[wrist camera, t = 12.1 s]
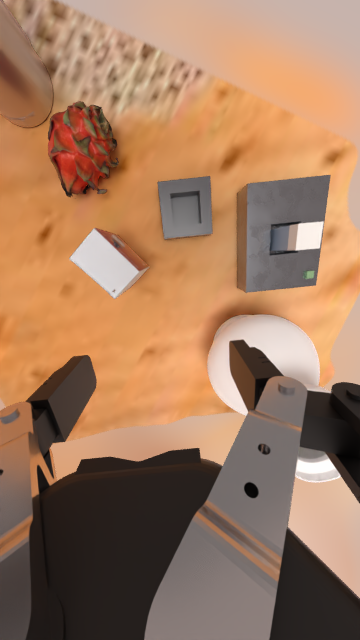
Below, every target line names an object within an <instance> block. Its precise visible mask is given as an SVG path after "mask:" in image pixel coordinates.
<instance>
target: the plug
mask: <svg viewBox="0 0 360 640" xmlns="http://www.w3.org/2000/svg"><path fill="white" fill-rule="evenodd" d="M323 223H324V221H323V222H312V223H300V224H295V225H290V226H286V227H281V228H277V229H272V230H271V233H270V251H285V250H306V249H318V248H320V243H321V237H322V230H323Z"/></svg>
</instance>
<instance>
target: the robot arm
mask: <svg viewBox="0 0 360 640" xmlns="http://www.w3.org/2000/svg"><path fill="white" fill-rule="evenodd" d="M52 102H53V89H52V84H51V80H50V76H49V74H48V72H47V69H46V67H45V66H44V64H43V62H42V61H41V59H40V58H39V56H38V55H37V53H36V52H35V50H34V49H33V48H32V46H31V42H30V39H29V38H28V37H27V35H26V34H25V32H24V31H23V29H22V28H21V26H20V25H19V23H18V22H17V20H16V19H15V17H14V16H13V15H12V13H11V12H10V10H9V9H8V7H7V6H6V4H5V3H4V1H3V0H0V114H1V115H2V116H4V117H5V118H6V119H8V120H9V121H10V122H12V123H14V124H16V125H18V126H21V127H34V126H38V125H39V124H41V123H42V122H43V121H44V120H45V119H46V118H47V117H48V115H49V113H50V111H51V107H52ZM229 366H230V372H231V376H232V378H233V380H234V382H235V384H236V387H237V389H238V391H239V393H240V395H241V397H242V400H243V402H244V404H245V406H246V408H247V410H248V413H247V416H246V418H245V420H244V422H243V424H242V426H241V429H240V431H239V433H238V435H237V437H236V439H235V441H234V443H233V446H232V447H231V450H230V452H229V454H228V456H227V458H226V460H225V462H224V465H223V466H221V465H219V464H217V463H215V462H213V461H210V460H206V459H201V458H200V450H199V448H193V449H183V450H173V451H168V452H166V453H163V454H160V455H157V456H154V457H152V458H149V459H146V460H143V461H139V462H136V461H131V460H125V459H120V458H114V457H103V458H92V459H83V460H81V462H80V464H79V466H78V468H77V471H76V472H74V473H72V474H69V475H67V476H65V477H63V478H62V479H60V480H58V481H57V477H56V472H55V466H54V461H53V455H52V451H51V449H50V447H51V445H52V443H57V442H65V441H66V439H67V437H68V436H69V434H70V432H71V431H72V429H73V427H74V425H75V424H76V422H77V420H78V418H79V417H80V415H81V413H82V411H83V410H84V408H85V406H86V404H87V403H88V401H89V399H90V397H91V396H92V394H93V392H94V390H95V388H96V376H95V373H94V369H93V366H92V362H91V359H90V357H89V356H88V355H83V356H74V357H72V358H71V359H70V360H69V361H68V362H67V363H66V364H65V365H64V366H63V367H62V368H60V369H59V370H57V371H55V372H54V373H53V374H52V375H51V376H50V377H49V378H48V380H46V381H45V382H44V383H43V385H41V386H40V387H39V388H38V389H37V390H36V391H35V392H34V393H33V394H32V395H31V396H30V397H29V398H28V399H27V400H26V401H25V402H19V403H16V404H13V405H10V406H8V407H6V408H4V409H2V410H1V411H0V640H360V598H359V597H358V596H357V595H356V594H355V593H354V592H353V591H352V590H351V589H350V588H349V587H348V586H347V585H346V584H345V583H344V582H342V580H341V579H339V577H337V575H336V574H335V573H334V572H332V570H330V569H329V567H327V566H326V564H324V563H323V562H322V561H321V560H320V559H319V558H318V557H317V556H316V555H315V554H314V553H313V552H312V551H311V550H310V549H309V548H308V547H307V546H306V545H305V544H304V543H303V542H302V541H301V540H300V539H299V538H298V537H297V536H296V535H295V534H294V533H293V532H292V531H291V530H290V529H289V528H288V521H289V514H290V507H291V500H292V493H293V486H294V480H295V474H296V467H297V461H298V454H299V447H303V448H308V449H313V450H318V451H323V452H325V453H326V455H327V456H328V458H329V459H330V461H331V462H332V464H333V465H334V466H335V468H336V469H337V471H338V472H339V474H340V475H341V477H342V478H343V480H344V481H345V483H346V484H347V486H348V487H349V488H350V490H351V491H352V493H353V494H354V496H355V497H356V499H357V500H358V501H359V503H360V385H357V384H353V383H347V382H341V383H336V384H334V385H333V386H332V389H331V393H326V392H317V391H310V390H307V388H306V387H305V386H304V385H303V384H302V383H301V382H299V381H298V380H296V379H293V378H290V377H286V376H284V375H283V374H282V373H281V372H280V371H279V370H278V369H277V368H276V366H275V365H274V364H273V363H272V362H271V361H270V360H269V358H267V356H266V355H265V354H264V353H263V352H262V351H261V350H259V349H257V348H255V347H249V346H248V344H247V343H246V342H245V341H244V340H243V339H242V340H232V341H230V342H229Z"/></svg>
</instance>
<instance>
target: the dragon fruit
mask: <svg viewBox="0 0 360 640" xmlns="http://www.w3.org/2000/svg"><path fill="white" fill-rule="evenodd" d="M101 108H102V107H99V106H95V105H90V106H89V107H86V105H85V104H84V102H81V101H79V102H76V103H73V105H72V106H68V108H67V110H66V111H64V112H59V113H56V114H54V115H53V116H52V117H51V118H50V127H49V132H48V139H49V143H48V155H49V157H50V160H51V162H52V163H53V165H54V167H55V168H56V171H57V173H58V176H59V179H60V181H61V185H62V187H63V189H64V191H65V192H66V195H67V196H68V197H71V196H72V193H73V194H79V193H81V194H86V190H88V189H89V188H90V187H91V188H92V189H93V190H94V189H95V190H97V191H98V194H104V193H106V191H107V190H104V189H102V190H100V189H99V188H98V178H99V176H102V177H103V178H108V177H109V168H108V166H110V167H116V166H117V165H118V163H119V161H118V159H117V158H116V160H117V162H116V163H115V162H113V161H112V160H111V158H110V156H109V152H110V151H113V150H115V148H116V146H117V141H116V140H115V139H113V138H112V137H113V134H112V129H111V126H110V124H109V123H108V121H107V120H106V118H105V117H104V115H103V112H102V109H101ZM87 184H88V185H89V187H88V185H87ZM86 185H87V186H86ZM70 195H71V196H70Z"/></svg>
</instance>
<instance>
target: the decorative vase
mask: <svg viewBox="0 0 360 640" xmlns="http://www.w3.org/2000/svg"><path fill="white" fill-rule="evenodd" d="M242 339H243V340H244V341H245V342H246V343H247V344H248V346H249V347H255V348H257V349H259V350H261V351H262V352H263V353H264V354H265V355H266V356H267V358H269V360H270V361H271V362H272V363H273V364H274V365H275V366H276V368H277V369H278V370H279V371H280V372H281V373H282V374H283V375H284V376H286V377H290V378H293V379H296V380H298V381H299V382H301V383H302V384H303V385H304V386H305V387H306V388H307V390H310V391H317V392H326V393H331V392H330V391H329V390H327V389H325V388H323V387H320V386H318V385H319V378H320V366H319V359H318V355H317V351H316V349H315V347H314V344H313V343H312V341H311V339H310V338H309V337H308V336H307V334H306V333H305V332H304V331H303V330H302V329H301V328H299V327H298V326H297V325H295V324H294V323H292V322H291V321H289V320H287V319H284V318H281V317H278V316H274V315H266V314H260V315H238V316H234V317H232V318H230V319H228V320H227V321H225V322H224V323H223V324H222V325H221V326H220V327H219V328H218V330H217V331H216V333H215V336H214V340H213V344H212V346H211V348H210V351H209V355H208V361H207V369H208V375H209V379H210V382H211V384H212V387H213V388H214V390H215V392H216V393H217V395H218V396H219V397H220V399H221V400H222V401H223V402H224V403H226V404H227V405H228V406H229V407H231V408H232V409H234V410H235V411H237V412H239V413H241V414H243V415H246V416H247V413H248V410H247V408H246V406H245V404H244V402H243V400H242V397H241V395H240V393H239V391H238V389H237V387H236V384H235V382H234V380H233V378H232V376H231V372H230V366H229V342H230V341H232V340H242ZM295 476H296V477H297V478H299V479H301V480H304V481H308V482H326V481H330V480H334V479H337V478H340V477H341V475H340V474H339V472H338V471H337V469H336V468H335V466H334V465H333V464H332V462H331V461H330V459H329V458H328V456H327V455H326V453H325V452H323V451H318V450H313V449H308V448H303V447H299V454H298V461H297V467H296V474H295Z"/></svg>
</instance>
